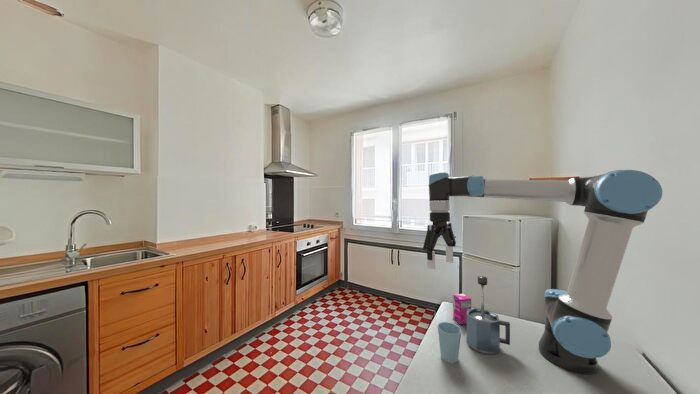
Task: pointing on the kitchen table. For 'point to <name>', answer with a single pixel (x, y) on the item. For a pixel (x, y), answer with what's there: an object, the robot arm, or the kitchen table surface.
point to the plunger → (482, 303)
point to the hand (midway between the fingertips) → (440, 265)
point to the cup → (449, 341)
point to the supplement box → (461, 308)
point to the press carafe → (486, 333)
